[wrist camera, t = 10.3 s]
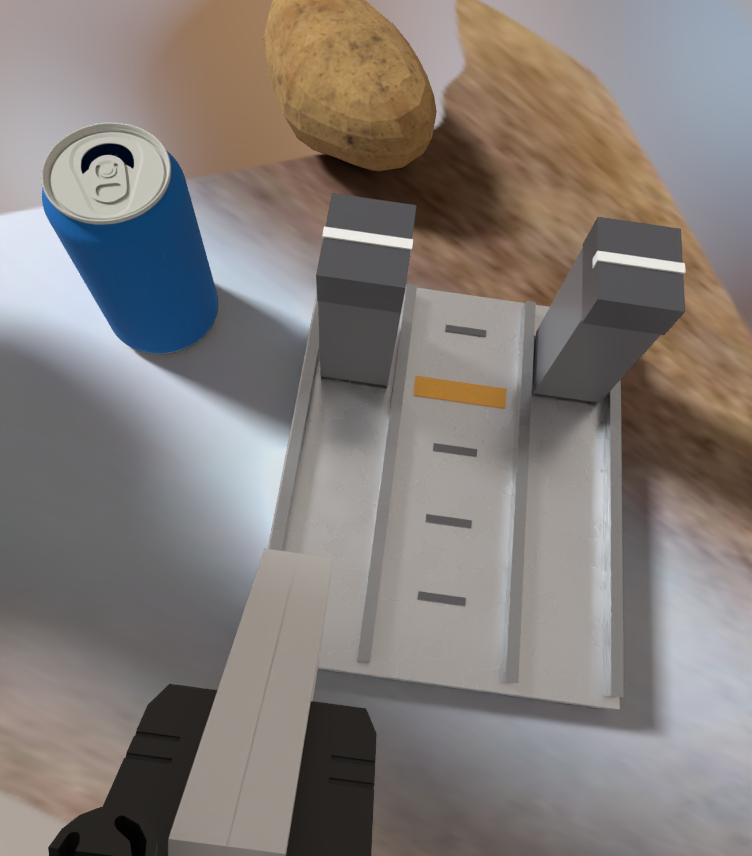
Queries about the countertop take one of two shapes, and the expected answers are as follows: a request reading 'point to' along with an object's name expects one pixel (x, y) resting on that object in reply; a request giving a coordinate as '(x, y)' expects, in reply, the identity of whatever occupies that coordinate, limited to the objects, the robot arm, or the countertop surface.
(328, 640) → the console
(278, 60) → the potato
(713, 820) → the countertop surface
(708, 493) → the countertop surface
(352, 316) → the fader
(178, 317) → the beverage can
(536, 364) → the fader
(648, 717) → the countertop surface
